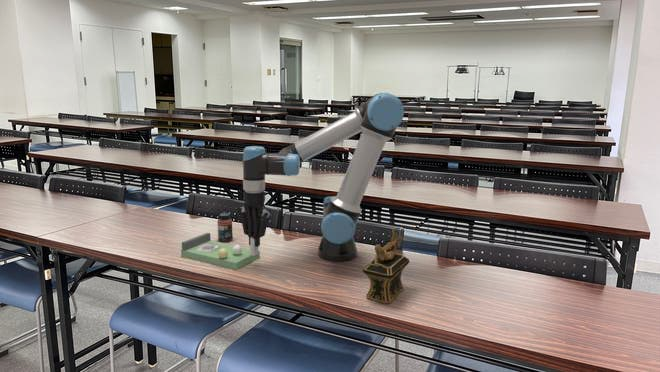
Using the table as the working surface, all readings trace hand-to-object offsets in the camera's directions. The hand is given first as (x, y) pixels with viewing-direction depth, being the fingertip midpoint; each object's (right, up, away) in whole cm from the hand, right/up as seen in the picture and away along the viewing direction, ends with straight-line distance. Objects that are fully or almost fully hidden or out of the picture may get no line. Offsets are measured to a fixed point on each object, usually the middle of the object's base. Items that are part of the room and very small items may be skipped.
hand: (254, 254), depth 169 cm
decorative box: (+46, -10, -19) cm, 50 cm away
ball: (-7, +1, +4) cm, 8 cm away
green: (-14, -2, +8) cm, 16 cm away
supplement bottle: (-17, +2, +27) cm, 32 cm away
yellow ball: (-11, 0, 0) cm, 11 cm away
